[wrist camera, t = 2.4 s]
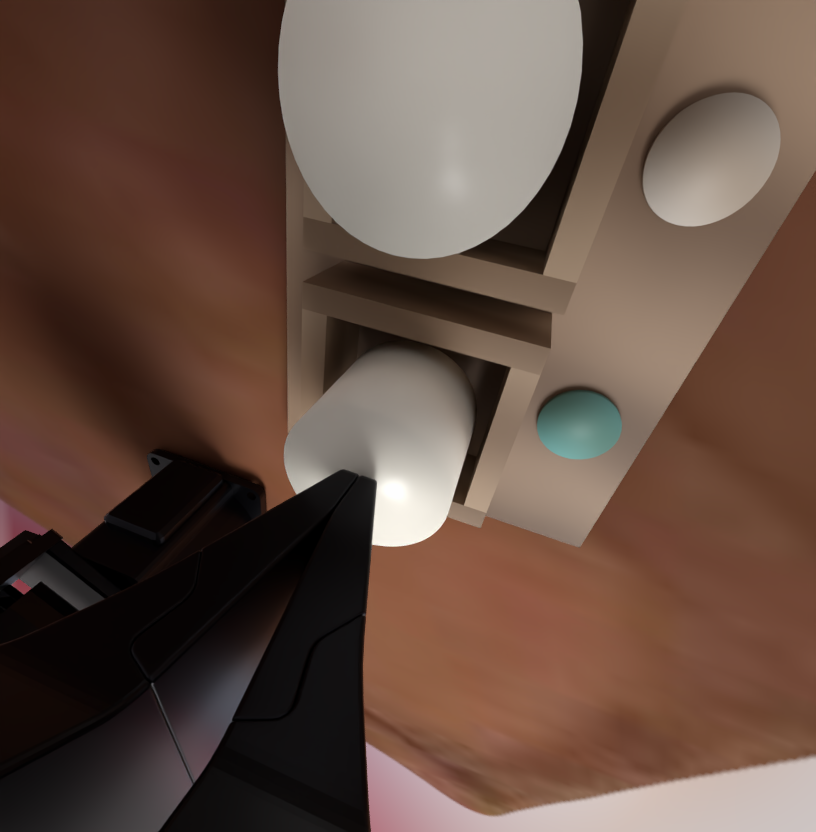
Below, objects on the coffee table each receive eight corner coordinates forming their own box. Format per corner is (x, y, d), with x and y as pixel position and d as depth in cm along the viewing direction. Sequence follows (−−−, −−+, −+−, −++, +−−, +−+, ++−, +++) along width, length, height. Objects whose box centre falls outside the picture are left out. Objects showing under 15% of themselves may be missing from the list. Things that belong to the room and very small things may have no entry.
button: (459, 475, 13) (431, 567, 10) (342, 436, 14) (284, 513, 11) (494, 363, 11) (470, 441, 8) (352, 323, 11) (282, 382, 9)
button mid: (531, 243, 9) (519, 287, 6) (363, 204, 10) (280, 226, 7) (611, -10, 7) (650, -127, 4) (384, -40, 7) (273, -162, 5)
